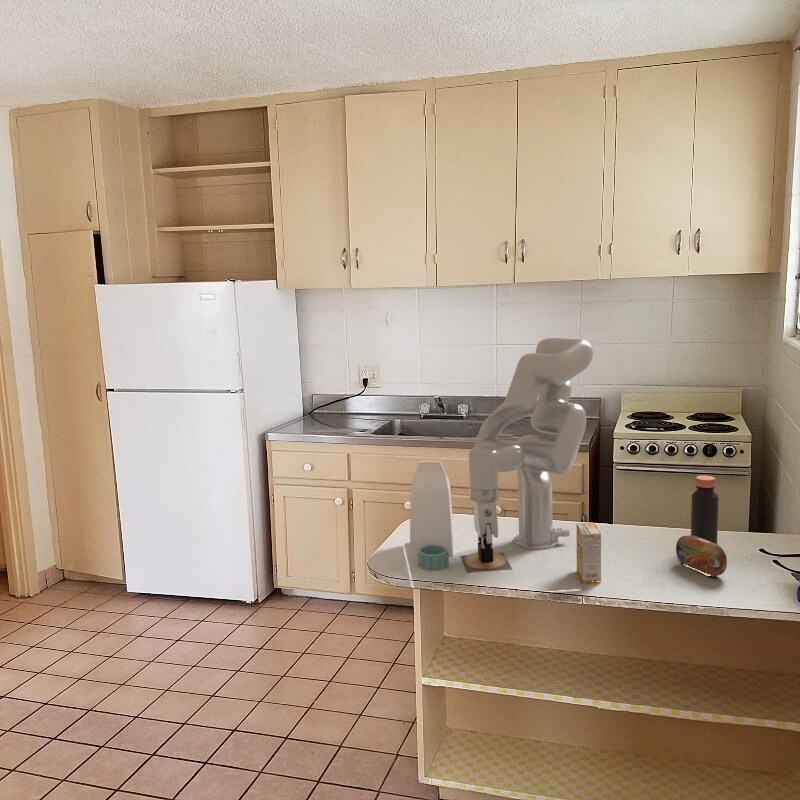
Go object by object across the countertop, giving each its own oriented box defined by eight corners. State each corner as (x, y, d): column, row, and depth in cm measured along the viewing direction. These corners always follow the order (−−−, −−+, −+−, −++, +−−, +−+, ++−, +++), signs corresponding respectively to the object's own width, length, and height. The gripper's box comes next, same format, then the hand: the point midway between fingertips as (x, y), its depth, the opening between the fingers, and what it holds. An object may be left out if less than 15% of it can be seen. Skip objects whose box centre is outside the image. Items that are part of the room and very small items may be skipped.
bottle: (722, 550, 207) (724, 479, 203) (700, 553, 205) (702, 482, 202) (706, 542, 213) (708, 473, 210) (685, 545, 212) (686, 475, 208)
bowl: (446, 559, 208) (445, 544, 208) (450, 570, 200) (449, 554, 200) (417, 561, 208) (416, 545, 207) (420, 572, 200) (419, 556, 199)
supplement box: (575, 570, 197) (575, 522, 195) (594, 570, 197) (594, 521, 195) (582, 583, 189) (582, 533, 187) (601, 583, 189) (601, 532, 187)
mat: (503, 554, 210) (503, 552, 210) (512, 571, 199) (512, 569, 198) (460, 557, 210) (460, 555, 209) (467, 574, 198) (467, 572, 198)
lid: (501, 553, 210) (501, 537, 209) (510, 568, 199) (510, 551, 198) (462, 556, 209) (461, 540, 208) (468, 571, 198) (468, 554, 197)
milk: (454, 543, 221) (451, 456, 217) (453, 557, 210) (450, 466, 206) (413, 543, 222) (409, 456, 218) (409, 557, 211) (406, 466, 207)
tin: (674, 562, 200) (675, 531, 199) (683, 560, 201) (684, 529, 200) (719, 582, 186) (720, 549, 185) (728, 580, 188) (729, 547, 186)
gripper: (504, 501, 193) (505, 570, 196) (492, 484, 209) (493, 547, 212) (475, 503, 192) (477, 571, 195) (465, 485, 209) (466, 549, 212)
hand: (485, 558), depth 204 cm, fingers closed on lid, 3 cm apart
